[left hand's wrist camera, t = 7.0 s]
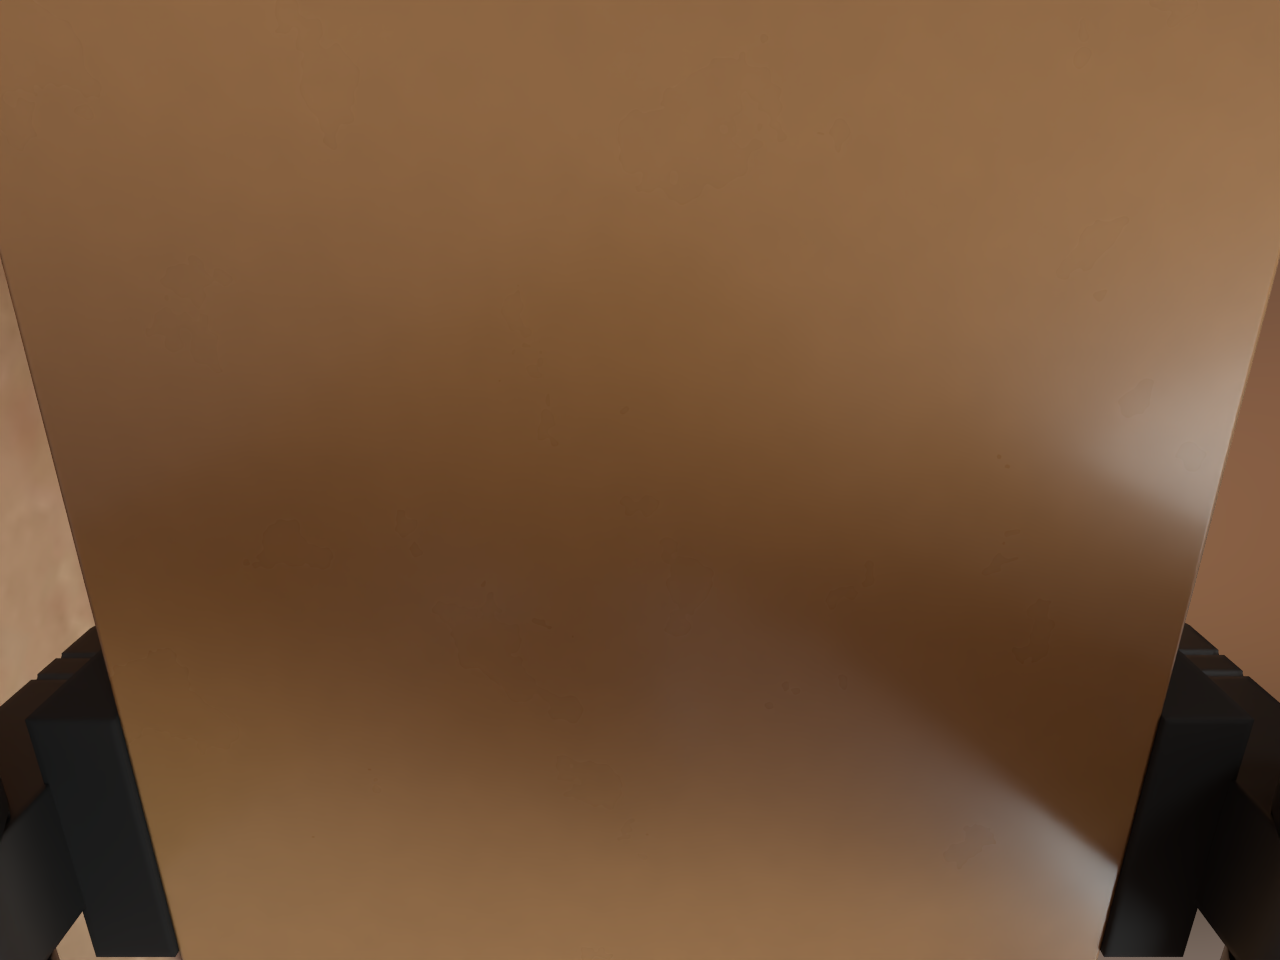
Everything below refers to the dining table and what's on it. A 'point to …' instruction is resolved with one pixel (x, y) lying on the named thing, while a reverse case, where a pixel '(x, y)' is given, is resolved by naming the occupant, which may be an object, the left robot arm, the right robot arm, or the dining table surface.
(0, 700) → the dining table surface
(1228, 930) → the left robot arm
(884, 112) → the long beam
